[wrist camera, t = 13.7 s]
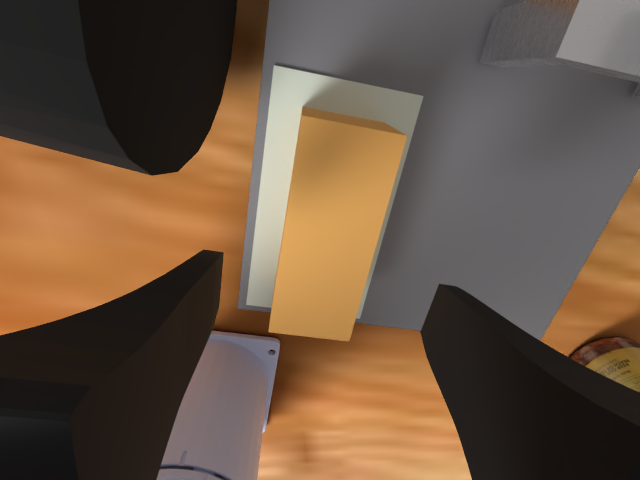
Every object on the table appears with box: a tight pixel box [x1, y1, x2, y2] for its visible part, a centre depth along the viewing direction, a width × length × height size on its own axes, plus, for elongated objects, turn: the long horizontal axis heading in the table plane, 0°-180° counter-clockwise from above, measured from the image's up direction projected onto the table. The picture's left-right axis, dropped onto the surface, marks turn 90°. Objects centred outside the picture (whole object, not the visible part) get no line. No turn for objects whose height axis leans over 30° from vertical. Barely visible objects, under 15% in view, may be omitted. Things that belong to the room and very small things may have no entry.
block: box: [268, 107, 407, 342], centre depth 17 cm, size 10×4×4 cm, turn 169°
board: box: [238, 0, 640, 340], centre depth 19 cm, size 18×20×2 cm
